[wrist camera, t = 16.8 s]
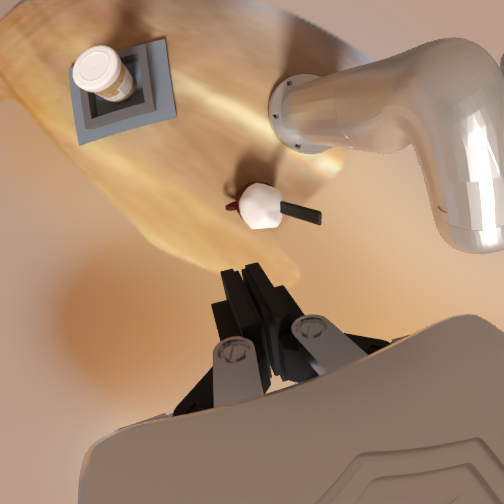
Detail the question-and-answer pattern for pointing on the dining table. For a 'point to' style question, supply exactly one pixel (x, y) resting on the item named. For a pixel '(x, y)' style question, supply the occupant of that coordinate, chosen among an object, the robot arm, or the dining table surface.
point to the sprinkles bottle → (104, 74)
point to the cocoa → (268, 207)
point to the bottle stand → (135, 109)
